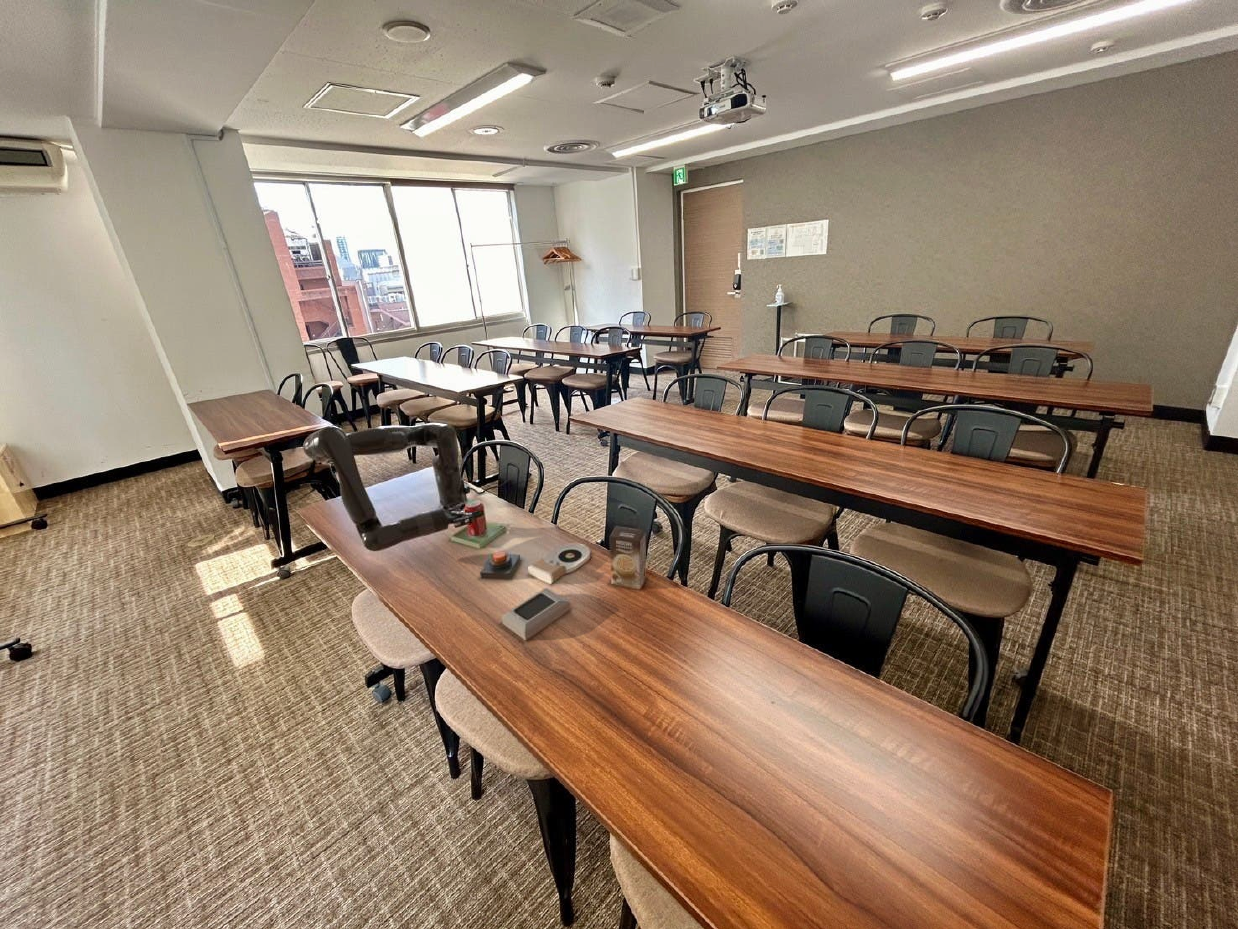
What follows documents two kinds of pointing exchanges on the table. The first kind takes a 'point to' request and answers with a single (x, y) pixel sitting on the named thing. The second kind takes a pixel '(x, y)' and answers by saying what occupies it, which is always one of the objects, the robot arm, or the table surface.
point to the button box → (500, 567)
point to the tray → (478, 542)
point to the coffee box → (628, 556)
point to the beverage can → (476, 519)
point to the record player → (560, 562)
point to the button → (499, 557)
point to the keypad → (535, 613)
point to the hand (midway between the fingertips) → (478, 507)
